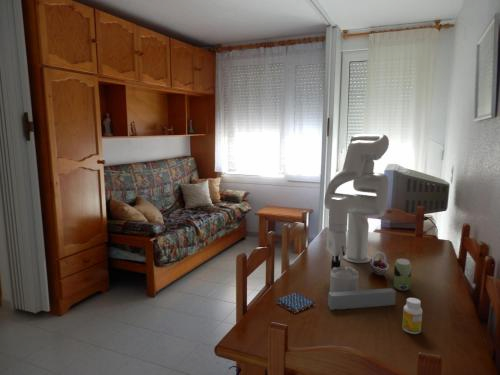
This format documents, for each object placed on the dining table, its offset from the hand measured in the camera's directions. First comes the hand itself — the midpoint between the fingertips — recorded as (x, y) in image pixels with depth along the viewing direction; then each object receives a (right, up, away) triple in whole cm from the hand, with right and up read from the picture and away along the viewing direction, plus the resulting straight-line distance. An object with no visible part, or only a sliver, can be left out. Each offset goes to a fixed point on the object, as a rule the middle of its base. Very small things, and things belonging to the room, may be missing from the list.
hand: (335, 269), depth 152 cm
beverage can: (+24, -6, -8) cm, 26 cm away
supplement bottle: (+15, -10, -38) cm, 42 cm away
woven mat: (-19, -8, -22) cm, 30 cm away
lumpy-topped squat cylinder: (+1, -6, -9) cm, 11 cm away
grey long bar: (+4, -8, -22) cm, 24 cm away
